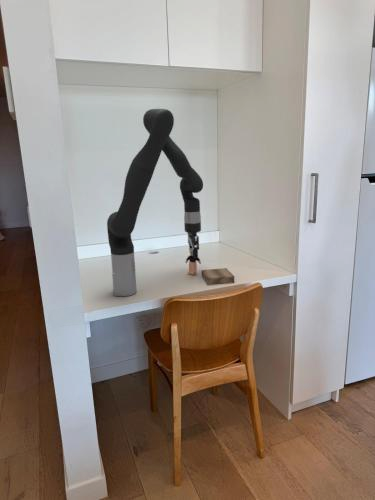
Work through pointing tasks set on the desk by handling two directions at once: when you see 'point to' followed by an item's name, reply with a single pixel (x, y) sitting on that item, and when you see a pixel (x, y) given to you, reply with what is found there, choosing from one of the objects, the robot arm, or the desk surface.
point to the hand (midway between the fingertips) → (193, 255)
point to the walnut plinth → (217, 276)
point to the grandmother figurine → (192, 263)
